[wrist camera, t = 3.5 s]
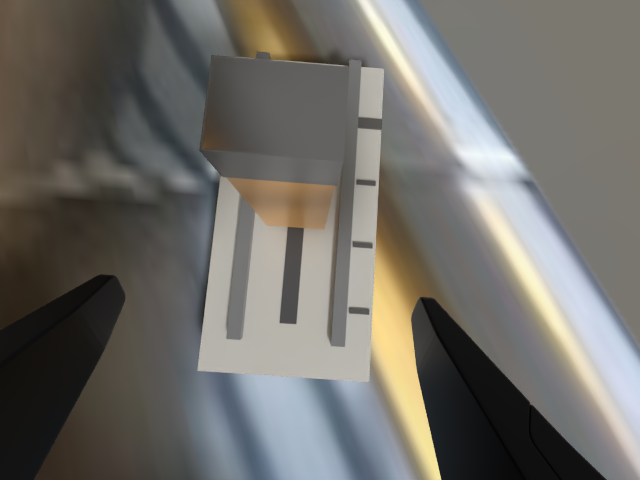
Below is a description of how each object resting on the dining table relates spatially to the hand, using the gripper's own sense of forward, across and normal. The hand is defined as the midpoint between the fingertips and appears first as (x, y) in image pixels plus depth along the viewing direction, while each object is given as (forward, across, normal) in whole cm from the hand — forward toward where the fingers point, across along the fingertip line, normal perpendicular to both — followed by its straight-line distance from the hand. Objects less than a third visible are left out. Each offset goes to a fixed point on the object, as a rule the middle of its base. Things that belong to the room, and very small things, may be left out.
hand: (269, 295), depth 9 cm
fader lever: (+10, 0, +3) cm, 10 cm away
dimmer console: (+12, 0, +5) cm, 13 cm away
